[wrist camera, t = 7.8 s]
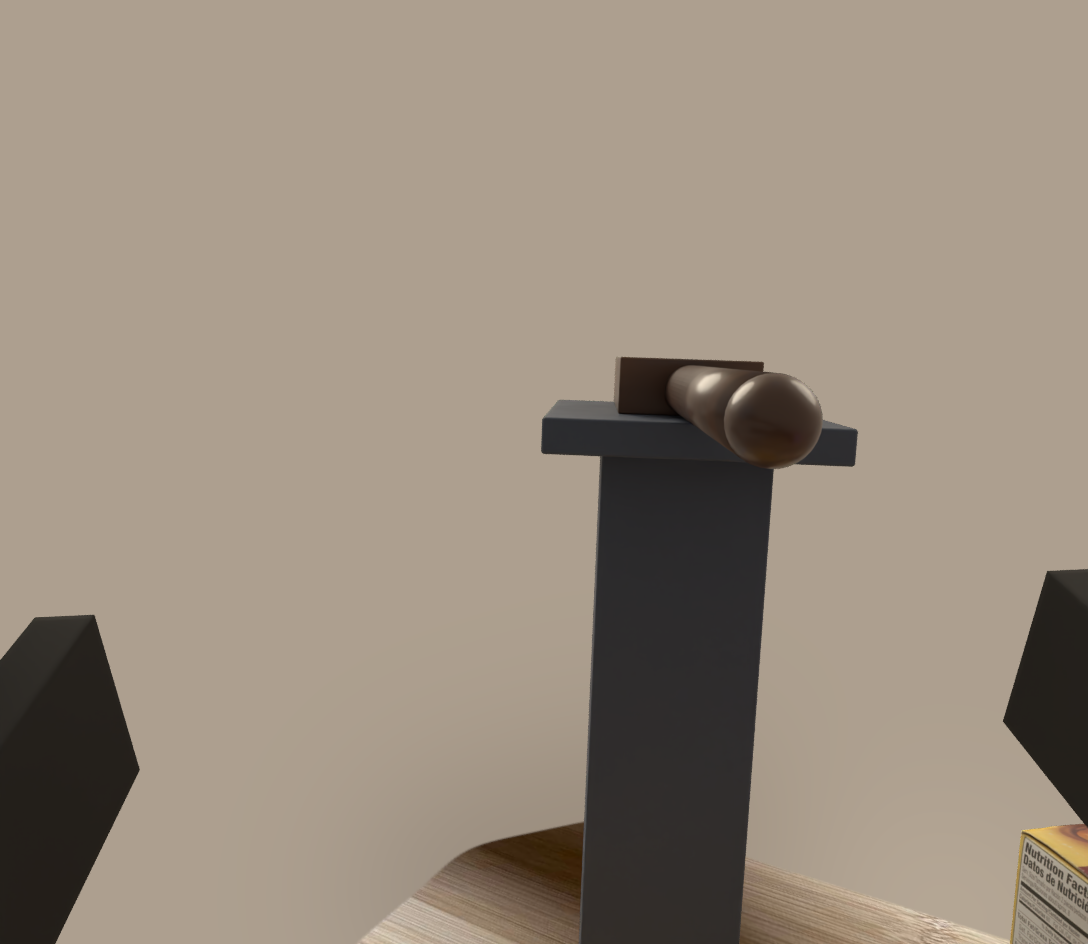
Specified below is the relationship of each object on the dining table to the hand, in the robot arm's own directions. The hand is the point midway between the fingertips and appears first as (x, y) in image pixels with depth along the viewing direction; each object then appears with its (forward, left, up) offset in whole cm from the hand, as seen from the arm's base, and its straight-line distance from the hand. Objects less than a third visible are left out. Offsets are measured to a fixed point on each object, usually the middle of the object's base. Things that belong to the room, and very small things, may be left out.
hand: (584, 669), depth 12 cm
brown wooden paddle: (+3, +15, +2) cm, 15 cm away
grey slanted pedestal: (+3, +21, -28) cm, 35 cm away
